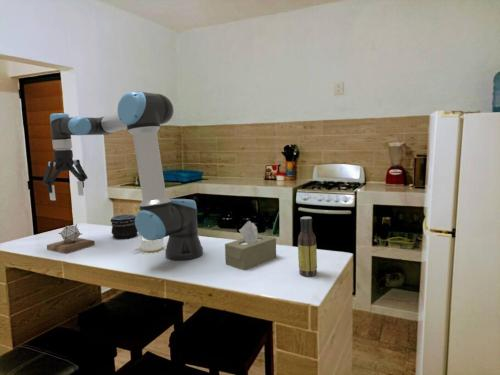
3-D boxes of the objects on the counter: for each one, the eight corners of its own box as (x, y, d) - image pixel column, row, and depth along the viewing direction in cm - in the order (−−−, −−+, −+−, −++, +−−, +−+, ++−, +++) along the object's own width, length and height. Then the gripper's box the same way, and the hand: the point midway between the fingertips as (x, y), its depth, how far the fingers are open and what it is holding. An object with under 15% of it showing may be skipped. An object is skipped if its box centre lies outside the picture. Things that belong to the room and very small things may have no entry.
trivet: (94, 245, 171) (94, 240, 171) (66, 253, 159) (66, 248, 159) (75, 241, 178) (75, 236, 178) (47, 249, 166) (46, 244, 166)
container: (133, 239, 179) (132, 219, 177) (107, 240, 179) (105, 219, 178) (142, 232, 191) (141, 213, 190) (117, 233, 192) (116, 214, 190)
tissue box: (259, 252, 154) (258, 215, 152) (277, 257, 147) (276, 218, 145) (224, 264, 141) (223, 223, 139) (242, 270, 134) (241, 227, 132)
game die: (76, 249, 171) (89, 230, 172) (66, 247, 162) (80, 228, 164) (60, 239, 172) (73, 220, 174) (50, 237, 164) (64, 217, 165)
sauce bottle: (314, 270, 132) (314, 215, 129) (318, 276, 126) (318, 219, 123) (296, 271, 132) (296, 215, 129) (300, 277, 126) (299, 219, 123)
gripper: (82, 148, 175) (86, 193, 178) (29, 151, 154) (34, 201, 157) (93, 148, 172) (97, 193, 174) (39, 151, 150) (45, 203, 153)
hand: (67, 197), depth 166 cm, fingers open, 13 cm apart
